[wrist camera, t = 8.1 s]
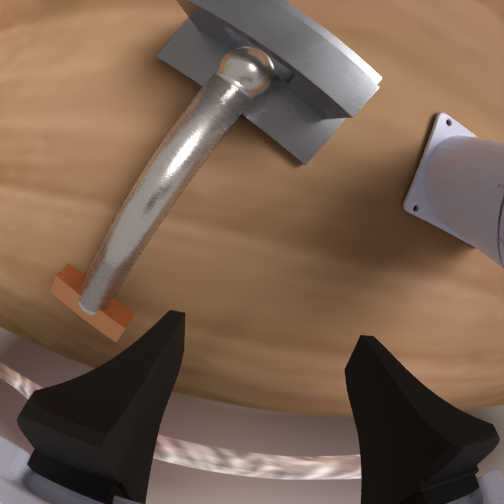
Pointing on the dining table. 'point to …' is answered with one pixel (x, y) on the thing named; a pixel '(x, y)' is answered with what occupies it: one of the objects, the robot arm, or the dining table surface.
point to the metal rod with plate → (162, 188)
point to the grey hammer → (277, 68)
